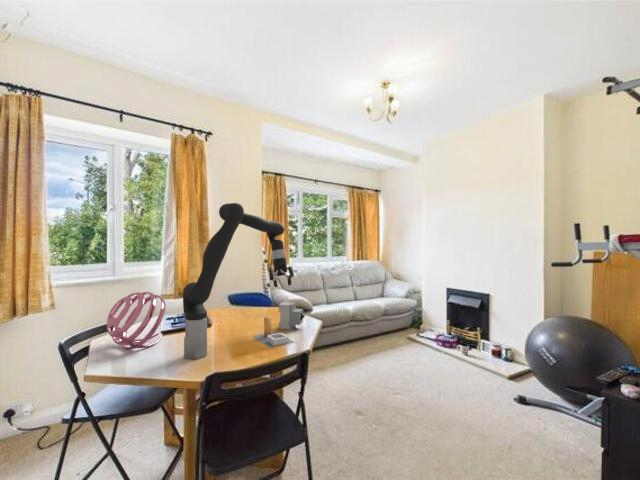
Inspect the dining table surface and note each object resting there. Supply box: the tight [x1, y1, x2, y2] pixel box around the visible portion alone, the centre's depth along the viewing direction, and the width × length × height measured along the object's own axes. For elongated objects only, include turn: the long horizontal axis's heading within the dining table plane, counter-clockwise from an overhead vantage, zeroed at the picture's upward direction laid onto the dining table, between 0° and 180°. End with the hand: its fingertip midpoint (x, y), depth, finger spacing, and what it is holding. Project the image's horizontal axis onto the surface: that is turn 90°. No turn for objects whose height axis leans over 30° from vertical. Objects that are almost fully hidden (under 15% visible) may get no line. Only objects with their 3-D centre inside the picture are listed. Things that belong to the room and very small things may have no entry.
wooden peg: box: [263, 316, 273, 337], centre depth 165 cm, size 4×4×10 cm
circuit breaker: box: [278, 301, 306, 330], centre depth 181 cm, size 8×14×15 cm, turn 78°
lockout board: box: [252, 330, 294, 349], centre depth 160 cm, size 22×14×4 cm, turn 34°
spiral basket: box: [106, 291, 166, 350], centre depth 154 cm, size 28×28×27 cm
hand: (282, 286), depth 174 cm, fingers open, 8 cm apart
